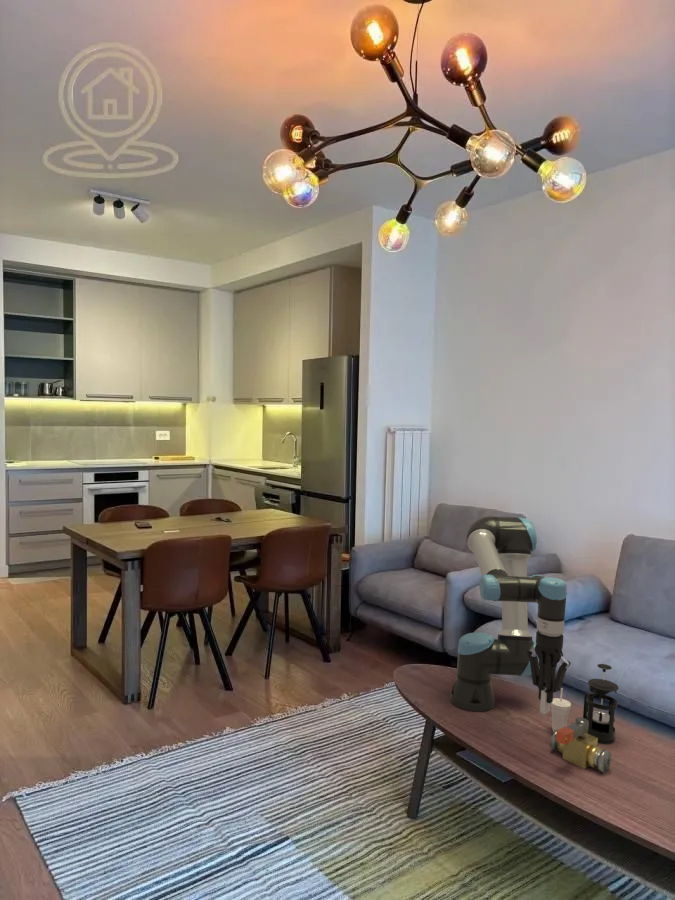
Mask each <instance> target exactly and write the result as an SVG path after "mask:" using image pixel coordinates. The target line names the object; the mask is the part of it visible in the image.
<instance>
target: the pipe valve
mask: <svg viewBox="0 0 675 900" xmlns="http://www.w3.org/2000/svg"><path fill="white" fill-rule="evenodd" d="M557 731H558V729H556V730H555V731H554V732H553V731H552V734H551V736H550V739H549V747H550V749H551V750H553V751H555V752H559V753H560V754H562V760H565V761H567V762H569V763H571V764H574V765H575V766H577V767H580V768H581V769H585V770H586V769H587V768H589V767H591V768H593V769H597V770H598V772H601V773H603V774H605V773H606V772H608V770H609V769H610V766H611V763H612V753H611V751H609V750H607V749H603V748H601V747H599V746H598V743H597V742H598V738H597V737H594V736H592V735H590V734H587V733H583V734H581V735H580V736H578V737H576V738H575V739H573V741H572V742H570V743H568V744H566V745H564V744H562V743H559V742H557V741H556V733H557Z"/></svg>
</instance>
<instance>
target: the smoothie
mask: <svg viewBox="0 0 675 900" xmlns="http://www.w3.org/2000/svg"><path fill="white" fill-rule="evenodd" d="M563 689H564V688H563V687H561V688H560V695H559V697H560V698H558V697H553V701H552V703H550V708H551V710H550V711H551V726H552V727H551V728H552V733H553V732H554V731H555V730H556V729H558V730H559V729H561V728H563V727H567V726H568V725H567V724H568V720H569V714H570V711H571V708H572V703H571V702H570V701H569V700H567V699H564V698H563Z"/></svg>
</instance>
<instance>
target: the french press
mask: <svg viewBox="0 0 675 900" xmlns="http://www.w3.org/2000/svg"><path fill="white" fill-rule="evenodd" d="M596 666H597V667H598V668H600V669H602V673H603V674H602V679H601V678H591V679H588V681H587V684H588V690H589V692H585V693H584V696H583V697H584V698H583V699H584V700H583V711H582V715H583V716H582V718H585V719H587V720H588V721H589V726H588V733H587V734H590V735H592V736H594V737H597V738H598V742H597V744H601V745H611V744H613V743H615V742H616V728H615V726H614V724H615V721H616V719H615V710H616V709H617V708H618V701H617V700H616V699H615V698H614V697H612V696H610V695H608V694H609V693H612V692H614V693H616V694H617V691H618V690H619V685H618V684H616V683H615V682H612V681H610V680H606V679H605V674H606V672H607V670H612V666H611V665H609V664H605V663H598V664H597V665H596ZM595 698H596V699H600V700H601V702H600V704H599V703H596V702H594V699H595ZM604 700H606V701H609V702H608V703H609V704H608V705H603V701H604ZM594 708H596V709H598V710H594ZM604 711H608V713H607V712H604Z"/></svg>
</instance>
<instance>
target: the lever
mask: <svg viewBox="0 0 675 900" xmlns="http://www.w3.org/2000/svg"><path fill="white" fill-rule="evenodd" d="M588 726H589V721H588V720H587V719H585V718H583V717H576V718H575V721H574V722H573V723H571V724H569V725H566V727H563V728H561V729H559V730H558V731H557V733H556V741H557V742H559V743H562V744H564V745H566V744H568V743H570V742H572V741H573V739H575V738H576V737H578V736H580V735H581V734H583V733H588Z"/></svg>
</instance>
